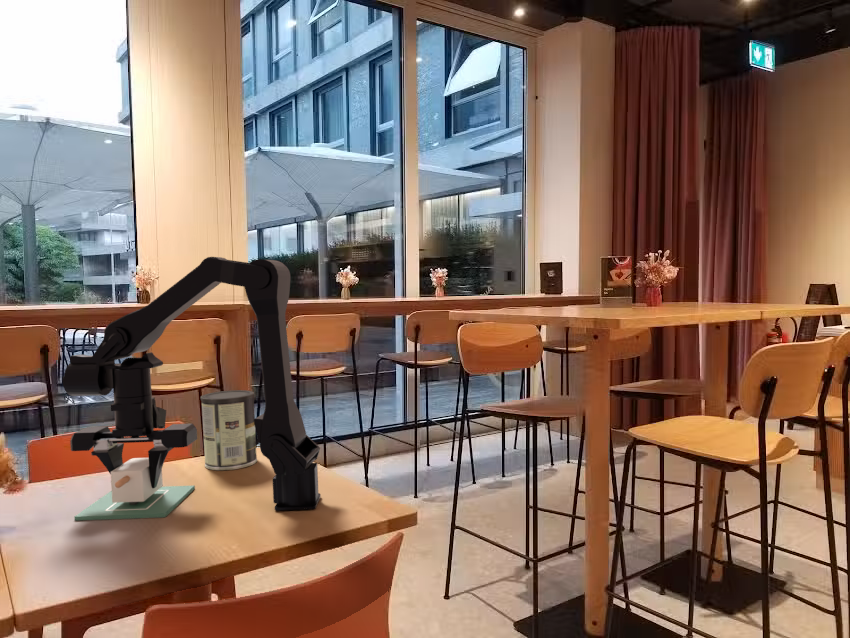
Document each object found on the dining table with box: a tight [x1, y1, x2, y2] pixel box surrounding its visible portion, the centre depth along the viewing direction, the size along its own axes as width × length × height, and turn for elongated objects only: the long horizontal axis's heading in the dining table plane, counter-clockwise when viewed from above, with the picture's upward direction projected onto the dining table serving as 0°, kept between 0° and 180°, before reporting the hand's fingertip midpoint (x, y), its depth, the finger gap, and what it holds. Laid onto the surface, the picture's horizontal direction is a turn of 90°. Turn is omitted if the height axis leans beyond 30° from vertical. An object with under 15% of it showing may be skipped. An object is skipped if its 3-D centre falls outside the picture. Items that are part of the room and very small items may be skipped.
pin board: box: [73, 485, 196, 521], centre depth 109 cm, size 14×14×3 cm
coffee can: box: [200, 389, 258, 471], centre depth 132 cm, size 10×10×14 cm
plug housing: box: [110, 457, 164, 503], centre depth 107 cm, size 5×12×5 cm, turn 1°
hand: (138, 488), depth 109 cm, fingers closed on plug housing, 5 cm apart
